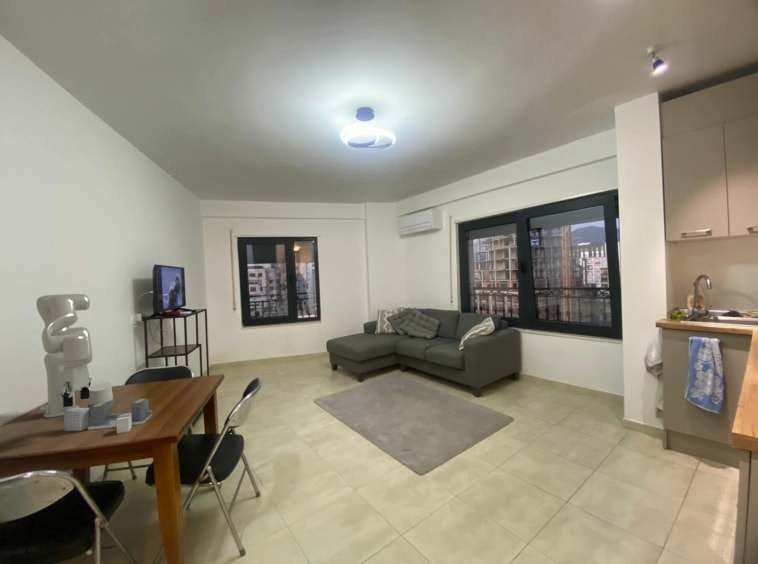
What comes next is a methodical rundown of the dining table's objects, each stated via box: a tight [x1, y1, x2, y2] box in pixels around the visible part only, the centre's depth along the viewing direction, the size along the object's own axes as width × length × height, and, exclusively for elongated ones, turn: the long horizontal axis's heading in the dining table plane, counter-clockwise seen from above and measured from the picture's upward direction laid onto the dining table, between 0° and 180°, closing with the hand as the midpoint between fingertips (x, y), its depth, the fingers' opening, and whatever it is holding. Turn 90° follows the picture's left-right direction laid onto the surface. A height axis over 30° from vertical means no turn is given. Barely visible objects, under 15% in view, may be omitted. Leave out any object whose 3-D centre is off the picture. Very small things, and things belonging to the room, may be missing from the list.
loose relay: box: [116, 414, 133, 434], centre depth 135 cm, size 4×5×6 cm
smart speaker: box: [87, 381, 114, 413], centre depth 156 cm, size 10×9×14 cm
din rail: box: [87, 398, 153, 431], centre depth 143 cm, size 21×9×10 cm, turn 101°
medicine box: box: [63, 407, 91, 432], centre depth 138 cm, size 8×4×9 cm, turn 84°
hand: (76, 402), depth 138 cm, fingers open, 9 cm apart
